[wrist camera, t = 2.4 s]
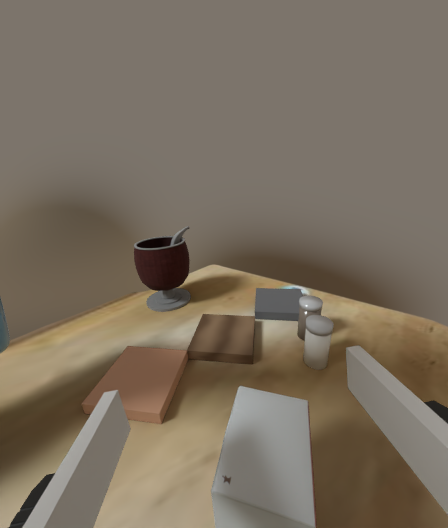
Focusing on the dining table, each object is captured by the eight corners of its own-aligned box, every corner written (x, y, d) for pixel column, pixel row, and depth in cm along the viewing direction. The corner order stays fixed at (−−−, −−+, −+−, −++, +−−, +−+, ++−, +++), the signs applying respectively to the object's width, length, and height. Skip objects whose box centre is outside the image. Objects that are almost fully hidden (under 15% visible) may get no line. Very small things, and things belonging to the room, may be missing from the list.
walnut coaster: (188, 359, 42) (187, 350, 41) (203, 321, 53) (203, 314, 52) (252, 364, 40) (252, 355, 39) (254, 323, 51) (254, 316, 50)
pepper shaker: (298, 341, 45) (301, 305, 42) (295, 328, 48) (298, 295, 46) (320, 342, 44) (325, 306, 41) (316, 329, 48) (319, 295, 45)
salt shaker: (304, 369, 38) (308, 329, 35) (300, 351, 42) (303, 314, 39) (330, 371, 37) (336, 330, 35) (324, 353, 41) (329, 315, 38)
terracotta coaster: (84, 413, 33) (81, 403, 32) (129, 354, 44) (127, 346, 43) (161, 423, 31) (159, 413, 30) (188, 359, 42) (187, 350, 41)
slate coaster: (255, 318, 53) (254, 311, 52) (256, 294, 64) (256, 288, 63) (308, 321, 51) (308, 313, 50) (299, 295, 62) (300, 289, 61)
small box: (302, 622, 16) (318, 532, 12) (220, 584, 18) (207, 492, 14) (299, 486, 24) (308, 398, 19) (241, 468, 25) (237, 383, 21)
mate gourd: (152, 319, 55) (137, 240, 48) (138, 298, 66) (124, 231, 59) (207, 299, 62) (200, 229, 56) (186, 283, 73) (178, 222, 66)
